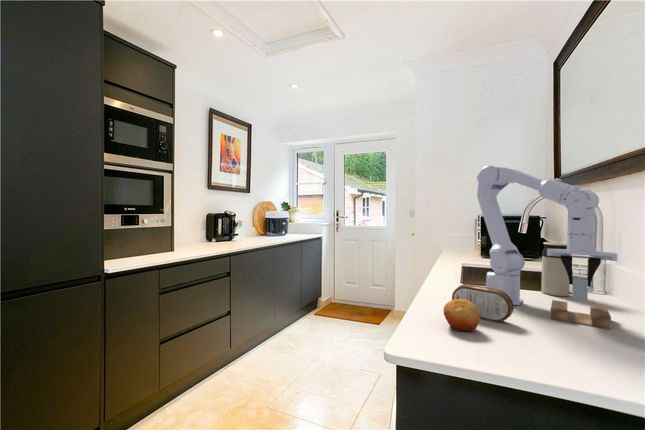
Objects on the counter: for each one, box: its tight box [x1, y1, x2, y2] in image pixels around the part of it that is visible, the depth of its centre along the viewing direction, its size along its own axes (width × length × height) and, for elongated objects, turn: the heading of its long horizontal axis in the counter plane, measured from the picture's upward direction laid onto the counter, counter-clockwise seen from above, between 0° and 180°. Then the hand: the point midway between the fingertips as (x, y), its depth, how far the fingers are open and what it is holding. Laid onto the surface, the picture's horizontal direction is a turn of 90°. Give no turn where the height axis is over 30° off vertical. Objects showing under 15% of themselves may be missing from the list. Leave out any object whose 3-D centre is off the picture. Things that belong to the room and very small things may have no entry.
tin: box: [451, 283, 515, 323], centre depth 86 cm, size 15×3×8 cm, turn 47°
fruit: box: [443, 299, 481, 332], centre depth 78 cm, size 8×8×8 cm
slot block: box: [550, 299, 612, 330], centre depth 85 cm, size 12×10×3 cm
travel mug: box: [540, 241, 571, 297], centre depth 112 cm, size 8×8×18 cm
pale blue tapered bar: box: [571, 273, 589, 301], centre depth 85 cm, size 3×9×5 cm, turn 142°
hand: (579, 284), depth 85 cm, fingers closed on pale blue tapered bar, 3 cm apart
